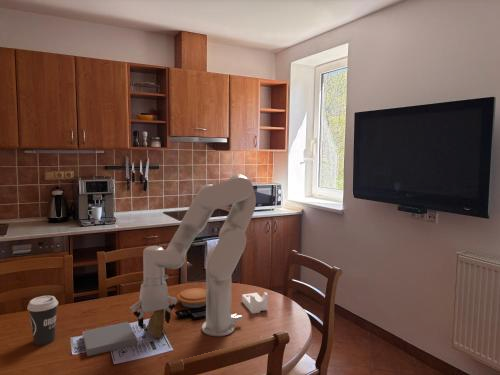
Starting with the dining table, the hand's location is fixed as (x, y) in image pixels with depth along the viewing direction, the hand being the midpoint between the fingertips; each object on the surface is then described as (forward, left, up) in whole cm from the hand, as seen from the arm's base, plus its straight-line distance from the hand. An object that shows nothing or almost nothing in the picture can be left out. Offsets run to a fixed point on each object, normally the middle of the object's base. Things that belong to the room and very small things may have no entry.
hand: (154, 324), depth 140 cm
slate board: (+16, -1, -3) cm, 16 cm away
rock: (0, 0, -3) cm, 3 cm away
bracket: (-45, -2, -3) cm, 45 cm away
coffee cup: (+36, -12, -3) cm, 38 cm away
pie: (-23, -18, -3) cm, 29 cm away
